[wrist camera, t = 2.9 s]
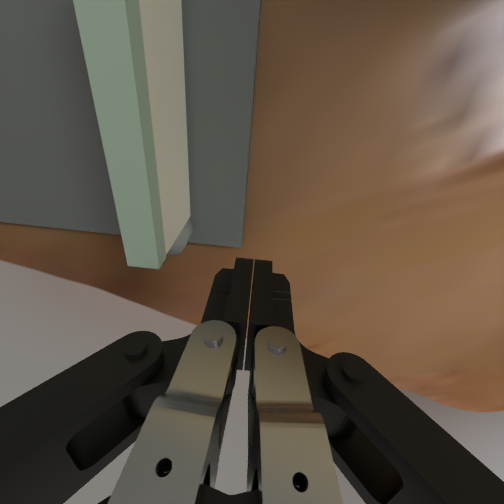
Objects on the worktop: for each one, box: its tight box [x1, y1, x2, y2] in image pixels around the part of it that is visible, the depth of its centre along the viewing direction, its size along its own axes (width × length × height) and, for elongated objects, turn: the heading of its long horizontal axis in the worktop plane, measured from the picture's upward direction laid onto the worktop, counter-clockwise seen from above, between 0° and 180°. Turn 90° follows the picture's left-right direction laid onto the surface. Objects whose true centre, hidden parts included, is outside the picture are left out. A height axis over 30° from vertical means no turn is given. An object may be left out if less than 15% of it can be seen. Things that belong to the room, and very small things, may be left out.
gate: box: [73, 0, 191, 269], centre depth 14 cm, size 15×2×7 cm, turn 175°
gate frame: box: [0, 0, 261, 255], centre depth 13 cm, size 25×23×10 cm
